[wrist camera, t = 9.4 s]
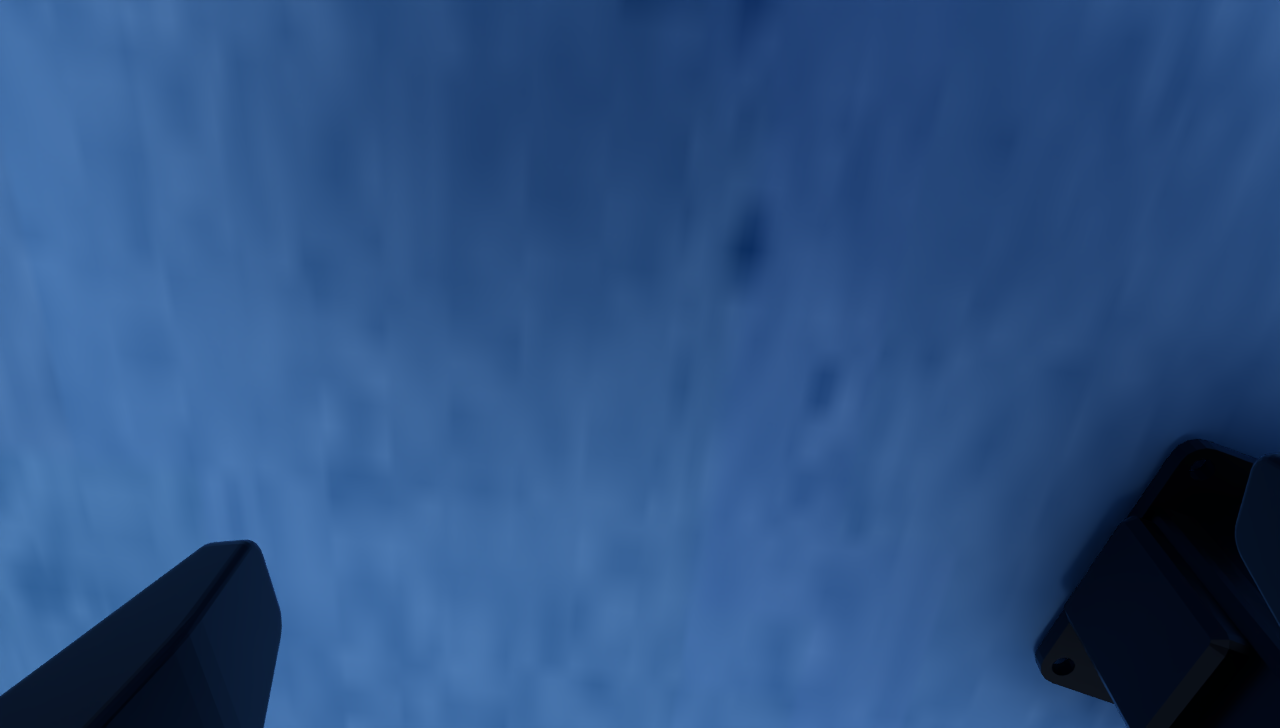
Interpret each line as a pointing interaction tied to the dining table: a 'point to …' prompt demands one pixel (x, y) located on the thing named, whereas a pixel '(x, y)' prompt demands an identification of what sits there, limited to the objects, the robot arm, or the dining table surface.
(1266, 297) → the dining table surface
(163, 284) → the dining table surface
